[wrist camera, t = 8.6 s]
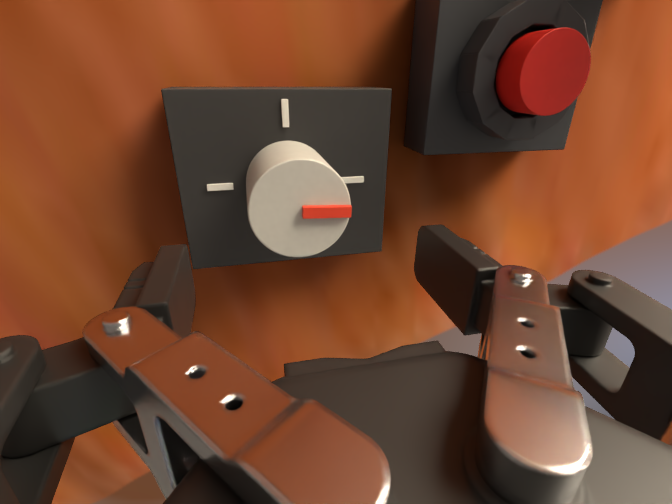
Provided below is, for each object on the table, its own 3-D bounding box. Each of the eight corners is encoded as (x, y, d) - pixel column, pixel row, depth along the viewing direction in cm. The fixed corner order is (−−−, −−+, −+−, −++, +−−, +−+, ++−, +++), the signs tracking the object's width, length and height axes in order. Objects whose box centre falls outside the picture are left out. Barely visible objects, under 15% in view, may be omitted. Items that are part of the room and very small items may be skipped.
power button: (489, 112, 21) (512, 116, 19) (503, 30, 19) (529, 25, 18) (550, 111, 22) (578, 115, 20) (569, 32, 20) (601, 28, 18)
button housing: (403, 146, 26) (437, 161, 21) (416, -14, 22) (461, -36, 17) (531, 141, 28) (586, 154, 23) (563, -6, 24) (637, -23, 19)
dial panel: (197, 249, 25) (192, 270, 23) (170, 86, 21) (160, 89, 18) (368, 234, 28) (382, 252, 25) (375, 86, 24) (393, 88, 21)
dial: (247, 223, 22) (249, 263, 18) (244, 139, 20) (245, 159, 16) (327, 221, 23) (349, 258, 19) (331, 141, 21) (356, 160, 17)
